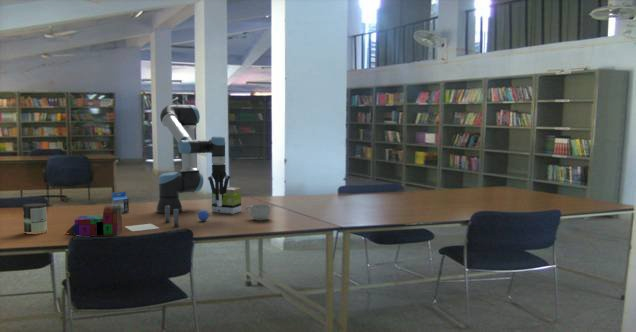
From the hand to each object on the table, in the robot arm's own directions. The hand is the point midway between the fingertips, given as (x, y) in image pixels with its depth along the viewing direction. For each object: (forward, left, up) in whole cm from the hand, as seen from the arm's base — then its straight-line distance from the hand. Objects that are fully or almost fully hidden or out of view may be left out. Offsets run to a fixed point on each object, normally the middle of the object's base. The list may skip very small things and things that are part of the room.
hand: (219, 206), depth 309 cm
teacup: (+13, +17, -8) cm, 23 cm away
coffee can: (-17, -91, -8) cm, 92 cm away
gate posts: (0, -28, -7) cm, 28 cm away
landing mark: (0, -44, -7) cm, 44 cm away
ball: (0, -10, -4) cm, 10 cm away
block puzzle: (-2, -66, -8) cm, 67 cm away
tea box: (-19, +13, -8) cm, 25 cm away
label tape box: (-51, -41, -8) cm, 66 cm away
